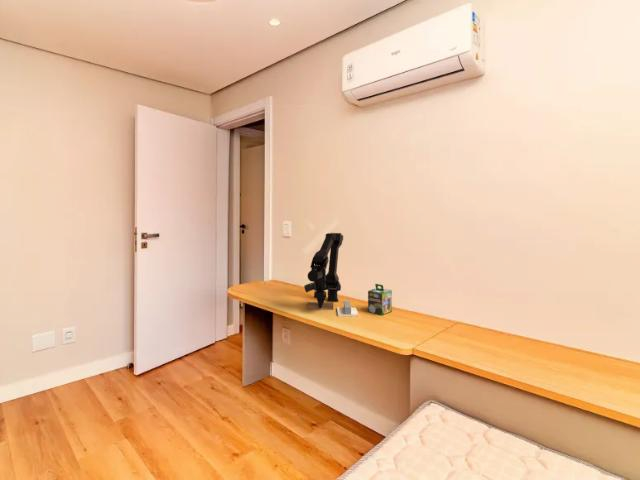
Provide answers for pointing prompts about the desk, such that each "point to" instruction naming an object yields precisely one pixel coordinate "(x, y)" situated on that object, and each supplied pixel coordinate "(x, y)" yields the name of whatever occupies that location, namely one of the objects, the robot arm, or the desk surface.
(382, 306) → the chalk box
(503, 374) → the desk surface
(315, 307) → the bar
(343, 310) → the fulcrum
